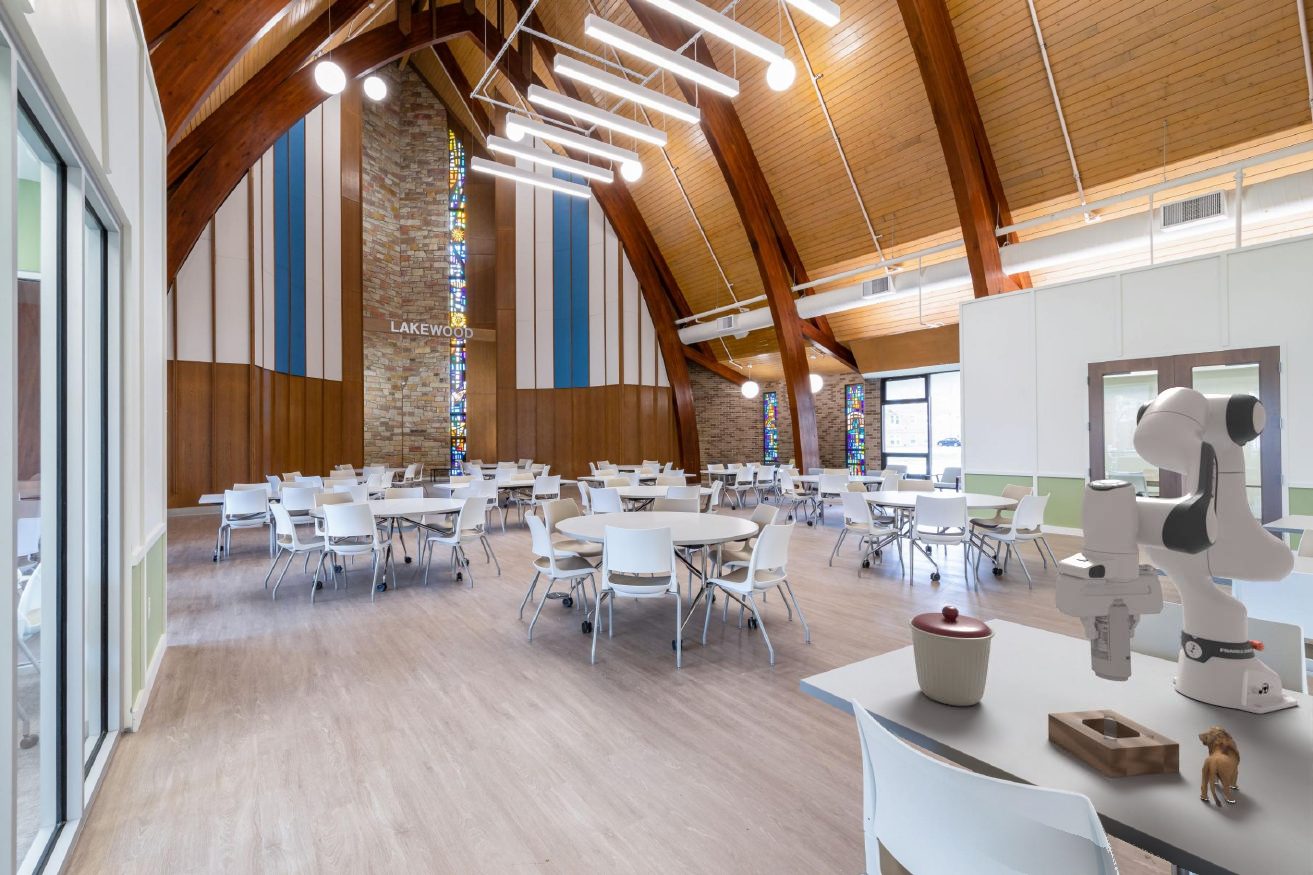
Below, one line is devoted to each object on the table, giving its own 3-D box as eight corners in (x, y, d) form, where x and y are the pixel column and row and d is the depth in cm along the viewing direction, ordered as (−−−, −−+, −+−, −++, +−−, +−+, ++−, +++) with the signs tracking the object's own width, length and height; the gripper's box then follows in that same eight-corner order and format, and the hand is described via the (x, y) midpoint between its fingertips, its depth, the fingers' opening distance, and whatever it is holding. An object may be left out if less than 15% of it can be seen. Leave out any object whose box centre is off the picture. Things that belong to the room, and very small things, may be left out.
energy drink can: (1138, 683, 110) (1134, 600, 111) (1101, 680, 112) (1097, 599, 112) (1121, 672, 116) (1118, 594, 117) (1086, 670, 117) (1083, 592, 118)
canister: (978, 684, 147) (978, 598, 147) (1007, 717, 129) (1007, 619, 129) (900, 679, 150) (900, 594, 150) (918, 710, 132) (918, 615, 133)
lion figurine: (1198, 768, 109) (1197, 719, 109) (1238, 779, 105) (1238, 728, 106) (1199, 805, 98) (1198, 749, 98) (1245, 818, 94) (1244, 761, 95)
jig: (1110, 734, 122) (1110, 709, 122) (1179, 771, 108) (1179, 743, 108) (1048, 738, 120) (1048, 713, 120) (1110, 777, 106) (1110, 748, 106)
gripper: (1141, 560, 119) (1141, 630, 119) (1049, 563, 116) (1049, 634, 116) (1173, 567, 113) (1173, 640, 112) (1076, 569, 110) (1076, 645, 110)
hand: (1109, 637), depth 114 cm, fingers closed on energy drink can, 6 cm apart
